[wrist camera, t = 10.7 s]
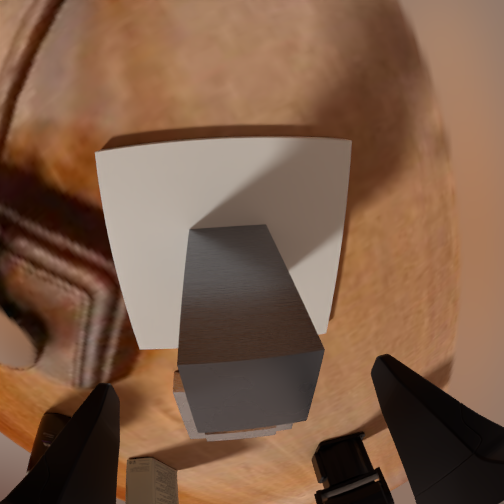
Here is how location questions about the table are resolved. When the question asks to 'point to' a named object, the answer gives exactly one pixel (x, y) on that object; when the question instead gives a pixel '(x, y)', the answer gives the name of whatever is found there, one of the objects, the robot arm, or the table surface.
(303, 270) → the pad
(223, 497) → the table surface
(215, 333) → the metal peg
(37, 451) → the supplement bottle
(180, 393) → the steel collar
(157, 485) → the skincare box
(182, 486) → the table surface
